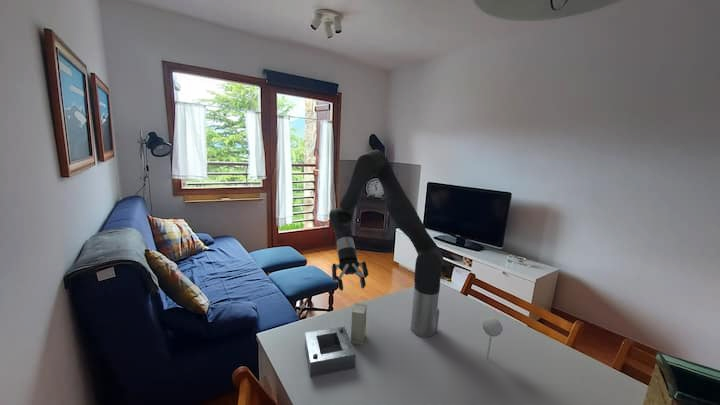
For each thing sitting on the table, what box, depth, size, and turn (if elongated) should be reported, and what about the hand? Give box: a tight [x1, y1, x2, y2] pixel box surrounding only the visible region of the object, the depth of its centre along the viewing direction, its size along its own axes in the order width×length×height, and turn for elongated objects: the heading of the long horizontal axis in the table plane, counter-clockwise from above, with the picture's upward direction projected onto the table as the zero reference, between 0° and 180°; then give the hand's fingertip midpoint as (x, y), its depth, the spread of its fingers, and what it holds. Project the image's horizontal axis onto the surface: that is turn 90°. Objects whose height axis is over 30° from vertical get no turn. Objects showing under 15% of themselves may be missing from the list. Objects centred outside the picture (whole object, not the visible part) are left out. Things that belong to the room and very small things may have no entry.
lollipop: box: [481, 316, 504, 360], centre depth 93 cm, size 6×6×15 cm
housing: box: [304, 326, 357, 378], centre depth 91 cm, size 14×14×5 cm
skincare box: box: [350, 302, 368, 346], centre depth 99 cm, size 6×4×12 cm
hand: (352, 289), depth 107 cm, fingers open, 8 cm apart
